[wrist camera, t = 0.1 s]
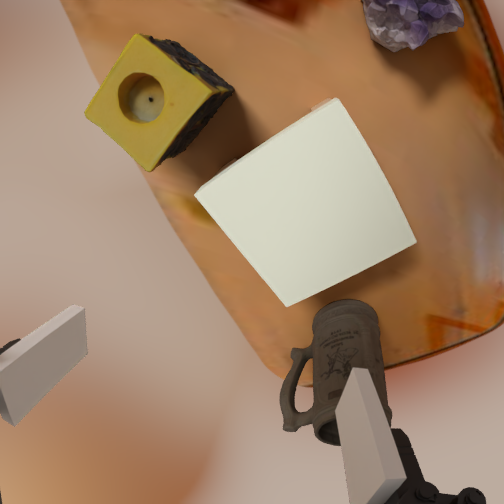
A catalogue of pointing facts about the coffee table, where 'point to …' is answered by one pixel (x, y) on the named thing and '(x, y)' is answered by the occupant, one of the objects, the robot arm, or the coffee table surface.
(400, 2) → the geode
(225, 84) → the candle
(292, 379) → the beer stein
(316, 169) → the footstool
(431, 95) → the coffee table surface
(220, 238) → the coffee table surface
